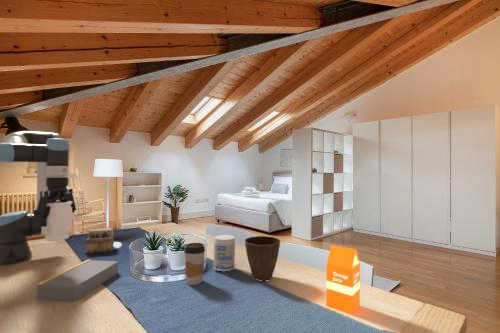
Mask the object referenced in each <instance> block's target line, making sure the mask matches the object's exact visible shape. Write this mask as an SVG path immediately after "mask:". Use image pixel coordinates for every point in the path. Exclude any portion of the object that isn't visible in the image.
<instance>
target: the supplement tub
mask: <svg viewBox="0 0 500 333" xmlns="http://www.w3.org/2000/svg"><path fill="white" fill-rule="evenodd" d="M213 242H214V243H213V270H214V269H215V270H214V271H216V270H217V271H216V272H218V271H228V270H232V269H233V270H234V269H235V256H236V250H235V249H236V240H235V236H234V235H230V234H229V235H228V234H219V235H216V236H214V241H213ZM233 270H232V271H233Z"/></svg>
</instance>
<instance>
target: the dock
mask: <svg viewBox="0 0 500 333" xmlns="http://www.w3.org/2000/svg"><path fill="white" fill-rule="evenodd" d="M117 274H119V261H113V260H110V261H109V260H97V259H96V260H95V259H93V260H92V259H88V258H87V260H85V261H82V262H80V263H78V264H76V265H73V266H72V267H70V268H68V269H66V270H63V271H62V272H59V273H58V274H55V275H53V276H51V277H49V278H47V279H45V280H43V281H40V282H39V283H37V300H51V301H65V302H76V301H78V300H79V299H80V298H82V297H83V296H85V295H87V294H88V293H89V292H91V291H93V290H94V289H96V288H97V287H99V286H101V285H102V284H103V283H106V282H107V280H109V279H111V278H113V277H114V276H116V275H117Z"/></svg>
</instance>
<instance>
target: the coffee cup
mask: <svg viewBox="0 0 500 333" xmlns="http://www.w3.org/2000/svg"><path fill="white" fill-rule="evenodd" d="M205 248H206V247H205V244H204V243H201V242H191V243H187V244H185V247H184V250H183V252H184V268H185V278H186V279H185V280H186V283H187V285H189V286H197V285H200V284H201V283H202V282H203V277H204V276H203V275H204V266H205V265H204V263H205V252H206V249H205Z"/></svg>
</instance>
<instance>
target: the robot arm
mask: <svg viewBox="0 0 500 333" xmlns="http://www.w3.org/2000/svg"><path fill="white" fill-rule="evenodd" d="M69 150H70V144H69V140H68V139H64V138H63V137H62V136H61V135H60V133H57V132H56V133H55V132H50V131H49V132H48V131H47V132H46V131H32V130H30V131H29V130H21V131H15V132H11V133H9V134H7V135H5V136H4V137H3V139H2V142H0V162H3V163H36V207H34V208H33V209H32V212H31V213H30V212H29V211H28V210H18V211H13V212H8V213H5V214H4V213H3V214H1V215H0V266H3V265H11V264H18V263H21V262H25V261H28V260H29V259H31V258H33V251H31V247H30V245H29V242H28V241H29V240H28V238H29V237H37V236H46V235H49V224H50V218H47V217H48V215H49V213H50V208H51V207H50V206H49V207H46V205H47V203H54V202H56V201H60V202H61V203H63V202H68V201H72V204H71V207H72V214H74V213H75V212H76V210H77V207H76V202H75V198H74V195H73V192H74V189H73V188H67V187H68V186H69V180H70V179H69V177H68V176H69V158H70V157H69V153H70V151H69ZM44 214H45V215H44ZM71 229H72V227H71V228H70V230H71Z"/></svg>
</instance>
